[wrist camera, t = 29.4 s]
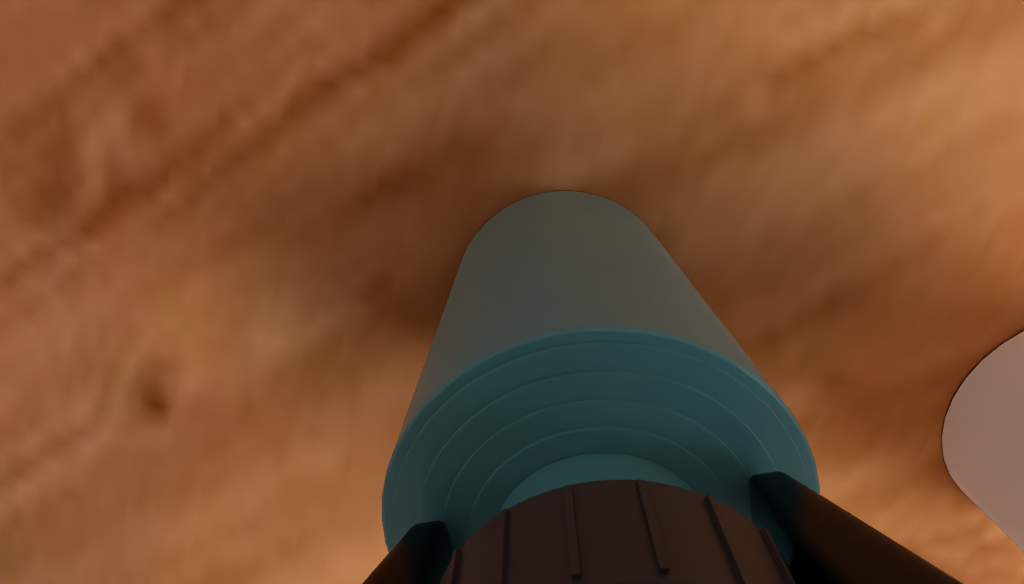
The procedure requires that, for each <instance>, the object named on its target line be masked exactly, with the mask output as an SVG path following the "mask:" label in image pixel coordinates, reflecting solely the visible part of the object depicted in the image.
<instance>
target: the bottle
mask: <svg viewBox="0 0 1024 584" xmlns="http://www.w3.org/2000/svg"><path fill="white" fill-rule="evenodd" d="M774 471H781V472H784V473H786V474H787V475H789V476H791V477H792V478H794V479H795V480H797V481H799V482H800V483H802V484H803V485H805V486H807V487H808V488H810V489H811V490H813V491H815V492H816V493H818V494H819V495H820V492H819V481H818V475H817V469H816V464H815V460H814V457H813V454H812V452H811V449H810V446H809V443H808V440H807V438H806V436H805V434H804V432H803V431H802V429H801V427H800V425H799V423H798V422H797V420H796V418H795V416H794V415H793V414H792V412H791V411H790V410H789V408H788V407H787V406H786V404H785V403H784V402H783V401H782V399H781V398H780V397H779V395H778V394H777V393H776V392H775V390H774V389H773V388H772V386H771V385H770V384H769V382H768V381H767V380H766V379H765V377H764V376H763V375H762V373H761V372H760V371H759V370H758V368H757V367H756V366H755V364H754V363H753V362H752V360H751V359H750V358H749V357H748V355H747V354H746V353H745V351H744V350H743V349H742V348H741V346H740V345H739V344H738V342H737V341H736V340H735V339H734V337H733V336H732V335H731V333H730V332H729V331H728V329H727V328H726V327H725V326H724V324H723V323H722V322H721V320H720V319H719V318H718V317H717V315H716V314H715V313H714V311H713V310H712V309H711V307H710V306H709V305H708V304H707V302H706V301H705V300H704V298H703V297H702V296H701V295H700V293H699V292H698V291H697V289H696V288H695V287H694V286H693V284H692V283H691V282H690V280H689V279H688V278H687V276H686V275H685V274H684V273H683V271H682V270H681V269H680V267H679V266H678V265H677V264H676V262H675V261H674V260H673V258H672V257H671V256H670V254H669V253H668V252H667V251H666V249H665V248H664V247H663V245H662V244H661V243H660V242H659V240H658V239H657V238H656V236H655V235H654V234H653V233H652V231H651V230H650V229H649V227H648V226H647V225H646V224H645V223H644V222H643V221H642V220H641V219H640V218H639V217H637V216H636V215H635V214H634V213H632V212H631V211H629V210H628V209H627V208H625V207H623V206H622V205H620V204H618V203H616V202H614V201H612V200H609V199H607V198H604V197H601V196H599V195H594V194H590V193H585V192H577V191H553V192H547V193H541V194H537V195H534V196H530V197H527V198H524V199H522V200H520V201H518V202H515V203H513V204H511V205H509V206H508V207H506V208H505V209H503V210H501V211H500V212H498V213H497V214H496V215H495V216H493V217H492V218H491V219H490V220H489V221H487V222H486V224H485V225H484V226H483V227H482V228H481V229H480V230H479V231H478V232H477V234H476V235H475V237H474V238H473V239H472V241H471V242H470V244H469V246H468V248H467V249H466V251H465V253H464V255H463V258H462V261H461V263H460V266H459V269H458V272H457V275H456V277H455V280H454V283H453V286H452V289H451V291H450V294H449V297H448V300H447V303H446V305H445V308H444V311H443V314H442V317H441V319H440V322H439V325H438V328H437V331H436V333H435V336H434V339H433V342H432V345H431V347H430V350H429V353H428V356H427V359H426V361H425V364H424V367H423V370H422V373H421V375H420V378H419V381H418V384H417V387H416V389H415V392H414V395H413V398H412V401H411V403H410V406H409V409H408V412H407V414H406V417H405V420H404V423H403V426H402V428H401V431H400V434H399V437H398V440H397V442H396V445H395V448H394V451H393V454H392V457H391V460H390V463H389V465H388V468H387V471H386V477H385V482H384V488H383V494H382V522H383V529H384V536H385V542H386V545H387V548H388V552H390V551H391V550H392V549H393V548H394V547H395V546H396V544H397V543H398V542H399V541H400V540H401V539H402V538H403V536H404V535H405V534H406V533H407V532H408V531H409V529H410V528H411V527H412V526H414V525H415V524H418V523H424V522H431V521H438V520H440V521H442V522H444V524H445V525H446V527H447V529H448V533H449V536H450V539H451V543H452V546H453V550H455V549H456V548H458V549H459V550H460V549H461V547H462V546H463V545H464V544H465V543H466V542H467V540H468V539H469V538H470V537H471V536H472V535H473V534H474V533H475V532H477V531H478V530H479V529H480V528H481V527H482V526H483V525H485V524H486V523H487V522H488V521H490V520H491V519H493V518H494V517H496V516H497V515H499V512H500V511H502V510H503V509H508V508H510V507H512V506H514V505H516V504H518V503H520V502H522V501H524V500H526V499H528V498H530V497H533V496H536V495H538V494H541V493H544V492H546V491H549V490H552V489H556V488H560V487H564V486H565V485H569V484H571V485H573V484H577V483H584V482H592V481H600V480H637V479H641V480H645V481H651V482H659V483H664V484H668V485H673V486H678V487H682V488H685V489H688V490H691V491H694V492H697V493H700V494H704V495H707V494H709V495H711V496H714V498H715V500H717V501H719V502H721V503H723V504H725V505H727V506H729V507H730V508H732V509H733V510H735V511H736V512H738V513H739V514H741V515H743V516H744V517H746V518H747V519H749V520H750V521H751V522H752V517H751V506H750V495H749V479H750V477H751V476H752V475H754V474H761V473H768V472H774Z"/></svg>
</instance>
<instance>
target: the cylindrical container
mask: <svg viewBox="0 0 1024 584" xmlns="http://www.w3.org/2000/svg"><path fill="white" fill-rule="evenodd" d="M942 447H943V457H944V461H945V463H946V466H947V468H948V471H949V474H950V476H951V477H952V479H953V480H954V481H955V483H956V484H957V485H958V487H959V488H960V489H961V490H962V491H963V492H964V493H965V494H966V495H967V496H968V497H969V498H970V499H971V500H972V501H973V502H974V503H975V504H976V505H977V506H978V507H979V508H980V509H981V510H982V511H983V512H984V513H985V514H986V515H987V516H988V517H989V518H990V519H991V520H992V521H993V522H994V523H995V524H996V525H997V526H998V527H999V528H1000V529H1001V530H1002V531H1003V532H1004V533H1005V534H1006V535H1007V536H1008V537H1009V538H1010V539H1011V540H1012V541H1013V542H1014V543H1015V544H1016V545H1017V546H1018V547H1019V548H1020V549H1021V550H1022V551H1023V552H1024V331H1023V332H1021V333H1020V334H1018V335H1016V336H1015V337H1013V338H1011V339H1010V340H1008V341H1006V342H1005V343H1003V344H1001V345H1000V346H999V347H998V348H997V349H995V350H994V351H993V352H992V353H990V354H989V355H988V356H987V357H986V358H984V359H983V360H982V361H981V362H980V363H979V364H978V365H977V366H976V368H975V369H974V370H973V371H972V372H971V373H970V374H969V375H968V376H967V377H966V379H965V380H964V382H963V383H962V385H961V387H960V388H959V390H958V391H957V393H956V394H955V396H954V397H953V400H952V402H951V405H950V407H949V410H948V412H947V415H946V417H945V422H944V428H943V434H942Z"/></svg>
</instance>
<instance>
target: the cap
mask: <svg viewBox="0 0 1024 584" xmlns="http://www.w3.org/2000/svg"><path fill="white" fill-rule="evenodd" d="M440 584H798V582H797V580H796V578H795V576H794V574H793V572H792V571H791V569H790V567H789V565H788V564H787V562H786V560H785V559H784V557H783V555H782V554H781V552H780V550H779V549H778V548H777V547H776V545H775V543H774V541H773V539H772V537H771V535H770V533H769V531H768V530H767V529H766V528H764V527H763V528H762V529H759V528H758V527H757V526H756V525H754V524H753V523H752V522H751V521H750V520H749V519H747V518H746V517H744V516H743V515H741V514H739V513H738V512H736V511H735V510H733V509H732V508H730V507H729V506H727V505H725V504H723V503H721V502H719V501H717V500H715V498H714V496H711V495H709V494H707V495H704V494H700V493H697V492H694V491H691V490H688V489H685V488H682V487H678V486H673V485H668V484H664V483H659V482H651V481H645V480H641V479H637V480H600V481H592V482H584V483H577V484H573V485H571V484H569V485H565V486H564V487H560V488H556V489H552V490H549V491H546V492H544V493H541V494H538V495H536V496H533V497H530V498H528V499H526V500H524V501H522V502H520V503H518V504H516V505H514V506H512V507H510V508H508V509H503V510H502V511H500V512H499V515H497V516H496V517H494V518H493V519H491V520H490V521H488V522H487V523H486V524H485V525H483V526H482V527H481V528H480V529H479V530H478V531H477V532H475V533H474V534H473V535H472V536H471V537H470V538H469V539H468V540H467V542H466V543H465V544H464V545H463V546H462V547H461V549H460V550H459V549H458V548H456V549H455V550H454V551H453V553H452V560H451V562H450V564H449V566H448V567H447V569H446V570H445V572H444V574H443V577H442V579H441V581H440Z"/></svg>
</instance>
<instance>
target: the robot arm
mask: <svg viewBox="0 0 1024 584" xmlns="http://www.w3.org/2000/svg"><path fill="white" fill-rule="evenodd" d="M749 495H750V506H751V517H752V523H753V524H754V525H756V526H757V527H758V528H759V529H762V528H763V527H764V528H766V529H767V530H768V531H769V533H770V535H771V537H772V539H773V541H774V543H775V545H776V547H777V548H778V549H779V550H780V552H781V554H782V555H783V557H784V559H785V560H786V562H787V564H788V565H789V567H790V569H791V571H792V572H793V574H794V576H795V578H796V580H797V582H798V584H963V583H961V582H959V581H958V580H956V579H955V578H953V577H951V576H950V575H948V574H947V573H945V572H943V571H942V570H940V569H939V568H937V567H935V566H934V565H932V564H931V563H929V562H927V561H926V560H924V559H922V558H921V557H919V556H918V555H916V554H914V553H913V552H911V551H910V550H908V549H906V548H905V547H903V546H902V545H900V544H898V543H897V542H895V541H894V540H892V539H890V538H889V537H887V536H885V535H884V534H882V533H881V532H879V531H877V530H876V529H874V528H873V527H871V526H869V525H868V524H866V523H865V522H863V521H861V520H860V519H858V518H857V517H855V516H853V515H852V514H850V513H848V512H847V511H845V510H844V509H842V508H840V507H839V506H837V505H836V504H834V503H832V502H831V501H829V500H828V499H826V498H824V497H823V496H821V495H819V494H818V493H816V492H815V491H813V490H811V489H810V488H808V487H807V486H805V485H803V484H802V483H800V482H799V481H797V480H795V479H794V478H792V477H791V476H789V475H787V474H786V473H784V472H781V471H774V472H768V473H761V474H754V475H752V476H751V477H750V479H749ZM453 551H454V550H453V546H452V543H451V539H450V536H449V533H448V529H447V527H446V525H445V524H444V522H442V521H440V520H438V521H431V522H424V523H418V524H415V525H414V526H412V527H411V528H410V529H409V531H408V532H407V533H406V534H405V535H404V536H403V538H402V539H401V540H400V541H399V542H398V543H397V544H396V546H395V547H394V548H393V549H392V550H391V551H390V552H389V554H388V555H387V556H386V557H385V558H384V559H383V561H382V562H381V563H380V564H379V565H378V566H377V567H376V569H375V570H374V571H373V572H372V573H371V574H370V575H369V577H368V578H367V579H366V580H365V581H364V582H363V584H440V581H441V579H442V577H443V574H444V572H445V570H446V569H447V567H448V566H449V564H450V562H451V560H452V553H453Z"/></svg>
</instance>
